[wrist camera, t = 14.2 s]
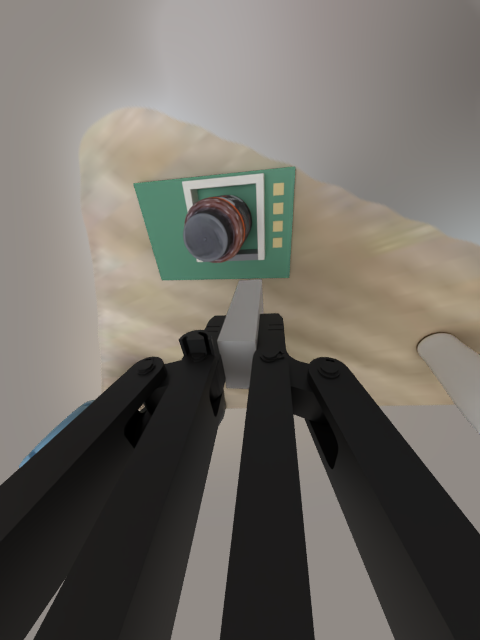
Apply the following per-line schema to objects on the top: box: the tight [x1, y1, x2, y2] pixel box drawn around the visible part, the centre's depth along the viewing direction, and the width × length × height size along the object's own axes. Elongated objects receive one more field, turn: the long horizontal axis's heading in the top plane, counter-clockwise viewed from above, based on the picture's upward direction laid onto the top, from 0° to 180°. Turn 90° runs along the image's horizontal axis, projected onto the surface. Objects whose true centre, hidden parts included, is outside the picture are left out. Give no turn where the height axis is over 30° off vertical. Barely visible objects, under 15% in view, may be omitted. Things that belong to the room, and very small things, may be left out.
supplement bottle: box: [183, 195, 252, 263], centre depth 22 cm, size 6×6×11 cm
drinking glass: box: [417, 333, 480, 434], centre depth 27 cm, size 7×7×15 cm
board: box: [133, 167, 295, 280], centre depth 27 cm, size 20×13×4 cm, turn 94°
